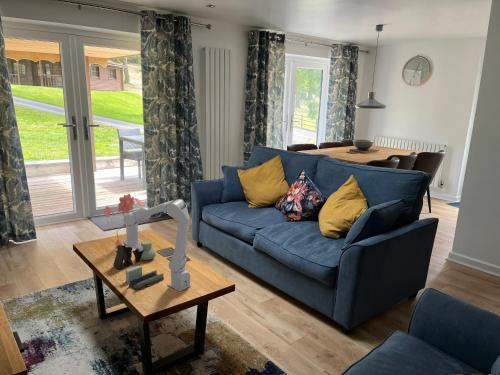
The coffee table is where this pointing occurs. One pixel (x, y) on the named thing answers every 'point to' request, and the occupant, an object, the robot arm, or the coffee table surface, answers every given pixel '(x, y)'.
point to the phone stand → (121, 259)
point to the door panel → (133, 273)
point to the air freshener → (147, 250)
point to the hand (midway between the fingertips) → (133, 260)
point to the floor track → (145, 280)
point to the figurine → (123, 209)
